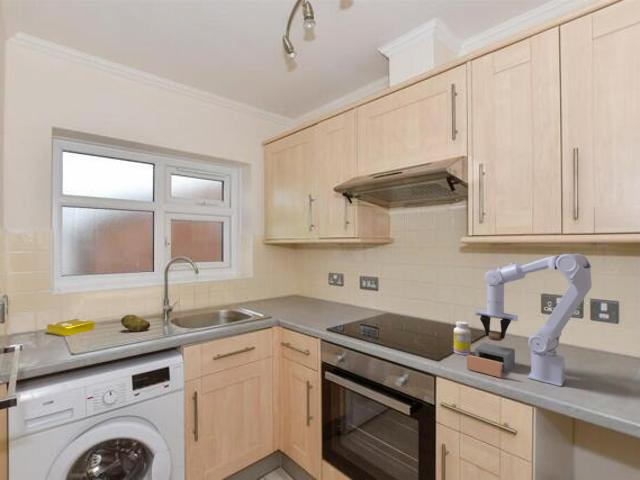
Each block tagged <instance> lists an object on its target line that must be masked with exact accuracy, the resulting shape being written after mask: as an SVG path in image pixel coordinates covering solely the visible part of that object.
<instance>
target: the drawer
mask: <svg viewBox="0 0 640 480" xmlns="http://www.w3.org/2000/svg"><path fill="white" fill-rule="evenodd" d="M466 369H467V370H471V371H474V372H477V373H478V372H479V373H481V374H486V375H489V376H492V377H493V376H494V377H497V378H502V370H503V371H504V363H502V362H498V361H494V360H490V359H485V358H480V357H476V356H475V355H471V354H469V355H466Z"/></svg>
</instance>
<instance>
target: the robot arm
mask: <svg viewBox="0 0 640 480" xmlns="http://www.w3.org/2000/svg"><path fill="white" fill-rule="evenodd" d="M547 269H550V270H555V271H556V270H557V271H559V272H560V273H561V274H562V275H563V276H564V277H565V279H566V281H567V283H568V285H569V286H568V287H567V289H566V290H565V292H564V293H563V295H562V296H561V298H560V300H558V303H557V304H556V306H555V307H554V309H553V311H552V312H551V314H550V315H549V316H548V317H547V320H546V321H545V322H544V323H543V324H542V326H541V327H540V328H539V329H538V330H537V331H536V332H535V333H534V334H533V335H530V336H529V337H528V341H527V343H528V344H527V345H528V347H529V348H530V372H529V374H528V375H527V378H528V379H531V380H533V381H534V380H535V381H538V382H542V383H547V384H550V385H554V386H559V387H561V386H563V385H564V383H565V380H566V374H565V373H566V371H565V369H566V368H565V366H566V363H565V362H566V361H565V357H564V355H563V356H562V355H559V354H558V353H557V350H556V348H558V346H559V344H560V338H561V336H562V331H563V329H564V328H565V327H566V325H567V324H568V322H569V321H570V320H571V318H572V317H573V316H574V314H575V312H576V311H577V309H578V308H579V306H580V305H581V304H582V301H584V299H585V297H586V296H587V294H588V293H589V292H590V290H591V289H592V286H593V284H592V276H591V275H592V274H591V271H592V270H591V269H592V265H591V263H590V262H589V260H588V258H587V257H586V256H585V255H583V254H580V253H572V254H571V253H564V254H560V255H559V254H558V255H553V256H548V257H545V258H541V259H538V260H535V261H532V262H529V263H526V264H523V265H522V264H521V263H517V262H511V263H509V265H506V266H503V267H501V266H499V267H497V269H490V270H488V271H486V272H485V274H484V278H483V279H484V281H485V283H486V285H487V286H486V306H487V307H486V310H483V309H481V310H480V309H475V310H474V316H475V317H476V316H479V319H480V322H481V323H482V326H483V329H484V332H485V336H486V337H489V331H491V329H490V328H491V320H492V318H493V319H500V320H499V322H500V332H501V339H502V340H504V339H505V338H506V337H505V336H506V333H507V330H508V328H509V326H510V324H511V323H512V322H517V321H518V315H516V314H510V313H506V312H505V305H504V304H505V284H506V283H507V284H508V283H510V282H514V281H518V280H522V279H525V277H526V275H528V274H530V273H535V272H538V271H542V270H543V271H544V270H547Z"/></svg>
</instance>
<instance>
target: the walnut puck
mask: <svg viewBox="0 0 640 480" xmlns="http://www.w3.org/2000/svg"><path fill="white" fill-rule="evenodd" d="M488 340H491V341H496V342H501V341H503V339H501V331H496V330H490V331H489V336H488Z"/></svg>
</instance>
